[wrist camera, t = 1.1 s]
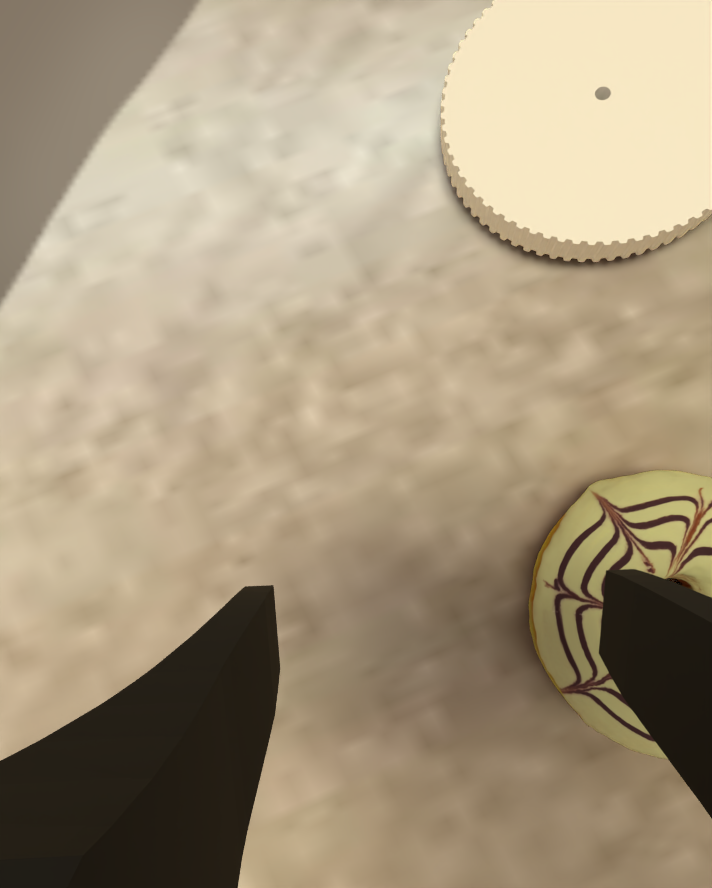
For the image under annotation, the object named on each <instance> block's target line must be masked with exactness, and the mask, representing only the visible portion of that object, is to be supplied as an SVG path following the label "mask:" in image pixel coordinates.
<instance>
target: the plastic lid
mask: <svg viewBox="0 0 712 888" xmlns="http://www.w3.org/2000/svg"><path fill="white" fill-rule="evenodd" d="M441 142H442V148H441V150H442V154H444V165H447V175H448V176H451V184H452V186H453V187H457V196H458V197H459V198H460V197H463V205H464V206H465V207H466V208H467V207H470V208H471V214H472V215H473V216H474V217H476V216H478V217H479V218H480V221H479V222H480V223H481V224H482V225H486V224H487V225H488V226H489V227H490V228H489V231H490V232H492V233H495V232H497V233H499V234H500V238H501V239H502V240H506V239H509V240H511V241H512V242H511V245H513V246H515V247H516V246H518V245H521V246H523V247H524V248H523V250H525V251H527V252H529V251H530V250H534V251H536V255H539V256H542V255H543V254H548V255H549V256H550V258H551V259H556V258H557V257H563V259H564V261H570V260H571V259H572V258H575V259H577V260H578V262H585V260H586V259H592V261H593V262H599V261H600V259H601V258H606V259H607V261H612V260H614V259H615V258H616V256H621V257H622V258H623V259H624V258H628V257H629V256H630V255H631V253H636V255H640V254H643V253H644V251H645V250H646V249H648V248H649V249H650V250H655V249H657V248H658V247H659V246H660V244H661V243H664V244H665V245H666V244H668V243H671V241H672V240H673V239H674V238H675V237H678V238H680V237H682V236H683V235H684V234H685V233H686V232H687V231H688V230H689V229H690V230H693V229H694V228H695V227H697V226H698V225H699V224H700V222H701V221H705V220H706V219H707V218H708V217H709V216H710V215H711V214H712V0H494V1H493V2H492V7H491V8H490V9H488V8H486V9H485V10H484V11H483V12H482V17H481V18H480V19H479V18H477V19H476V20H475V21H474V22H473V28H472V29H468V30H467V32H466V33H465V40H461V41H460V43H459V46H458V51H457V52H454V54H453V63H450V64H449V67H448V75H447V76H446V77H445V82H444V88H443V91H442V101H441Z"/></svg>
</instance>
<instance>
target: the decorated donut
mask: <svg viewBox="0 0 712 888" xmlns="http://www.w3.org/2000/svg"><path fill="white" fill-rule="evenodd" d="M623 569H636V570H639V571H643V572H646V573H649V574H652V575H655V576H658V577H661V578H663V579H667V578H672V579H673V578H675V579H677V580H678V581H679V582H681V583H682V584H681V586H684V587H686V588H689V589H691V590H694V591H696V592H699V593H701V594H704V595H706V596H709V597H711V598H712V477H707V476H701V475H696V474H691V473H687V472H682V471H674V470H653V471H647V472H642V473H638V474H634V475H629V476H622V477H617V478H612V479H604V480H600V481H597V482H595V483H593V484H591V485H590V486H589V487H588V488H587V489H586V491H585V492H584V493H583V494H582V495H581V497H580V498H579V499H578V500H577V501H576V502H575V503H574V504H573V505H572V506H571V507H570V508H569V509H568V511H567V512H566V513H565V514H564V515H563V516H562V517H561V519H560V520H559V521H558V522H557V524H556V525H555V526H554V527H553V529H552V530H551V532H550V533H549V535H548V537H547V539H546V540H545V542H544V544H543V546H542V548H541V550H540V552H539V553H538V557H537V560H536V563H535V566H534V570H533V580H532V586H531V591H530V597H529V606H528V607H529V617H530V619H529V624H530V631H531V635H532V638H533V643H534V646H535V650H536V652H537V654H538V657H539V659H540V661H541V663H542V665H543V667H544V669H545V670H546V672H547V674H548V676H549V677H550V679H551V681H552V682H553V684H554V685H555V687H556V688H557V689H558V691H559V692H560V693H561V695H562V696H563V697H564V698H565V700H566V701H567V703H568V704H569V705H570V706H571V707H572V708H573V709H574V710H575V711H576V712H577V713H578V714H579V716H580V717H581V718H582V720H583V721H584V722H585V723H586V724H587V725H588V726H591V727H592V728H594V729H595V730H596V731H597V732H599V733H601V734H603V735H605V736H606V737H608V738H609V739H611V740H613V741H614V742H617V743H619V744H621V745H622V746H624V747H626V748H628V749H630V750H632V751H637V752H639V753H643V754H648V755H650V756H654V757H657V758H664V759H668V758H667V757H666V755H665V754H664V753H663V751H662V750H661V749H660V747H659V746H658V745H657V743H656V742H655V741H654V739H653V738H652V737H651V735H650V734H649V733H648V731H647V730H646V728H645V727H644V726H643V724H642V723H641V722H640V720H639V719H638V717H637V716H636V715H635V713H634V712H633V711H632V709H631V708H630V706H629V705H628V704H627V702H626V701H625V699H624V698H623V696H622V695H621V693H620V691H619V689H618V688H617V686H616V684H615V683H614V681H613V679H612V677H611V676H610V674H609V672H608V670H607V668H606V666H605V664H604V662H603V661H602V659H601V657H600V655H599V644H600V632H601V621H602V610H603V599H604V588H605V576H606V570H623Z"/></svg>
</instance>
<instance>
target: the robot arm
mask: <svg viewBox="0 0 712 888" xmlns="http://www.w3.org/2000/svg"><path fill="white" fill-rule="evenodd" d="M599 655H600V657H601V659H602V661H603V662H604V664H605V666H606V668H607V670H608V672H609V674H610V676H611V677H612V679H613V681H614V683H615V684H616V686H617V688H618V689H619V691H620V693H621V695H622V696H623V698H624V699H625V701H626V702H627V704H628V705H629V706H630V708H631V709H632V711H633V712H634V713H635V715H636V716H637V717H638V719H639V720H640V722H641V723H642V724H643V726H644V727H645V728H646V730H647V731H648V733H649V734H650V735H651V737H652V738H653V739H654V741H655V742H656V743H657V745H658V746H659V747H660V749H661V750H662V751H663V753H664V754H665V755H666V757H667V758H668V759H669V761H670V762H671V763H672V765H673V766H674V767H675V769H676V770H677V772H678V773H679V774H680V776H681V777H682V778H683V780H684V781H685V782H686V784H687V785H688V786H689V788H690V789H691V790H692V792H693V793H694V794H695V796H696V797H697V798H698V800H699V801H700V802H701V804H702V805H703V807H704V808H705V810H706V811H707V812H708V814H709V815H710V817H711V818H712V598H711V597H709V596H706V595H704V594H701V593H699V592H696V591H694V590H691V589H689V588H686V587H684V586H681V585H679V584H676V583H674V582H671V581H669V580H666V579H663V578H661V577H658V576H655V575H652V574H649V573H646V572H643V571H639V570H636V569H623V570H606V576H605V588H604V599H603V610H602V621H601V632H600V644H599ZM279 675H280V661H279V648H278V636H277V624H276V612H275V599H274V587H273V585H271V586H248V587H244V588H243V589H242V590H241V591H239V592H238V593H237V594H236V595H235V596H234V597H233V598H232V599H231V600H230V601H229V602H228V603H227V604H226V605H225V606H224V607H223V608H222V609H221V610H219V611H218V612H217V613H216V614H215V615H214V616H213V617H212V618H211V619H210V620H209V621H208V622H207V623H205V624H204V625H203V626H202V627H201V628H200V629H199V630H198V631H197V632H196V633H195V634H193V635H192V636H191V637H190V638H189V639H188V640H186V641H185V642H184V643H183V644H182V645H180V646H179V647H178V648H177V649H176V650H174V651H173V652H172V653H171V654H169V655H168V656H167V657H166V658H165V659H163V660H162V661H161V662H160V663H159V664H157V665H156V666H155V667H154V668H152V669H151V670H150V671H148V672H147V673H146V674H144V675H143V676H142V677H140V678H139V679H137V680H136V681H135V682H133V683H132V684H130V685H129V686H127V687H126V688H125V689H123V690H122V691H120V692H119V693H117V694H116V695H114V696H113V697H111V698H110V699H108V700H107V701H105V702H104V703H102V704H101V705H99V706H98V707H96V708H94V709H92V710H91V711H89V712H87V713H86V714H84V715H82V716H81V717H79V718H77V719H76V720H74V721H72V722H70V723H69V724H67V725H65V726H64V727H62V728H60V729H59V730H57V731H55V732H54V733H52V734H50V735H48V736H47V737H45V738H43V739H41V740H40V741H38V742H36V743H34V744H32V745H30V746H28V747H26V748H24V749H23V750H21V751H19V752H17V753H15V754H13V755H11V756H9V757H7V758H5V759H3V760H1V761H0V888H238V881H239V874H240V868H241V861H242V855H243V850H244V845H245V840H246V835H247V830H248V826H249V822H250V817H251V813H252V809H253V805H254V801H255V797H256V792H257V788H258V784H259V780H260V776H261V772H262V767H263V763H264V759H265V755H266V751H267V746H268V742H269V738H270V734H271V729H272V725H273V720H274V716H275V709H276V701H277V693H278V684H279Z"/></svg>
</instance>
